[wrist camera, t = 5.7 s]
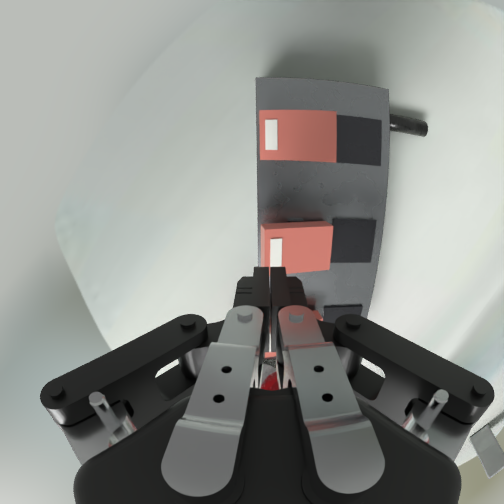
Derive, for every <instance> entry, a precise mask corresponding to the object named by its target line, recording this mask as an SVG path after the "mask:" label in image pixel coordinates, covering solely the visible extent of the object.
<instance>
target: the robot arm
mask: <svg viewBox="0 0 504 504" xmlns="http://www.w3.org/2000/svg"><path fill="white" fill-rule="evenodd" d="M270 332H271V352H276V371H277V378H278V384H279V390H272V391H271V390H265V389H260V387H261V379H262V371H263V361H264V359H265V352H269V345H270ZM362 358H364V359H366V360H368V361H369V362H371V363H373V364H375V365H376V366H378V367H380V368H381V369H382V370H383V371H384V373H385V378H383V377H381V376H380V375H378V374H376V373H375V372H373V371H371V370H370V369H368V368H366V367H365V366H363V365H362V364H361V361H362ZM176 359H178V361H179V364H178V365H176V366H174V367H173V368H171V369H170V370H168V371H166V372H165V373H163V374H161V375H160V376H158V377H156V378H155V376H156V374H157V372H158V371H159V370H160V369H161V368H163V367H164V366H166V365H168V364H169V363H171V362H173V361H174V360H176ZM40 399H41V402H42V404H43V406H44V407H45V408H46V409H47V411H48V412H49V413H50V415H51V416H52V418H53V420H54V421H55V422H56V424H57V425H58V426H59V427H60V429H61V430H62V431H63V432H64V434H65V436H66V437H67V439H68V441H69V443H70V445H71V447H72V449H73V451H74V453H75V454H76V456H77V458H78V460H79V461H80V463H81V464H82V466H81V467H80V469H79V470H78V472H77V474H76V477H75V481H74V497H75V502H76V504H458V500H459V496H460V491H461V475H460V472H459V469H458V467H457V465H456V464H455V463H454V460H455V459H456V457H457V455H458V453H459V451H460V450H461V448H462V446H463V444H464V442H465V440H466V438H467V436H468V434H469V432H470V429H471V428H472V427H473V426H474V425H475V423H476V422H477V421H478V420H479V418H480V417H481V416H482V415H483V413H484V412H485V411H486V410H487V408H488V407H489V406H490V404H491V403H492V402H493V400H494V390H493V387H492V386H491V384H490V383H489V382H488V381H487V380H485V379H483V378H481V377H479V376H477V375H475V374H474V373H472V372H470V371H468V370H466V369H464V368H462V367H460V366H458V365H456V364H454V363H452V362H450V361H448V360H446V359H444V358H442V357H440V356H438V355H436V354H434V353H432V352H430V351H428V350H426V349H424V348H423V347H421V346H419V345H417V344H415V343H413V342H411V341H409V340H407V339H405V338H403V337H401V336H399V335H397V334H395V333H393V332H391V331H389V330H388V329H386V328H384V327H382V326H380V325H378V324H376V323H374V322H372V321H370V320H368V319H366V318H364V317H362V316H360V315H356V314H345V315H342V316H340V317H338V318H337V319H336V321H335V323H329V322H324V321H321V320H318V319H316V317H315V315H314V313H313V311H312V310H310V309H309V308H308V304H307V300H306V296H305V293H304V288H303V284H302V281H301V280H300V279H298V278H297V277H296V276H288V277H287V274H286V268H285V267H270V281H269V267H254V273H253V277H242V278H241V279H240V280H239V281H238V283H237V289H236V294H235V299H234V305H233V308H232V309H231V310H230V311H229V312H228V313H227V315H226V318H225V320H223V321H220V322H216V323H210V324H207V322H206V320H205V319H204V318H203V317H202V316H199V315H195V314H187V315H182V316H179V317H177V318H175V319H173V320H171V321H169V322H167V323H165V324H163V325H162V326H160V327H158V328H156V329H154V330H152V331H150V332H148V333H146V334H144V335H142V336H140V337H138V338H136V339H134V340H132V341H130V342H128V343H127V344H125V345H123V346H121V347H119V348H117V349H115V350H113V351H111V352H109V353H107V354H105V355H103V356H101V357H99V358H97V359H95V360H93V361H91V362H89V363H87V364H84V365H82V366H80V367H78V368H76V369H74V370H72V371H70V372H68V373H66V374H64V375H62V376H60V377H58V378H56V379H53V380H52V381H50V382H48V383H47V384H46V385H45V386H44V387H43V389H42V391H41V394H40Z"/></svg>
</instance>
